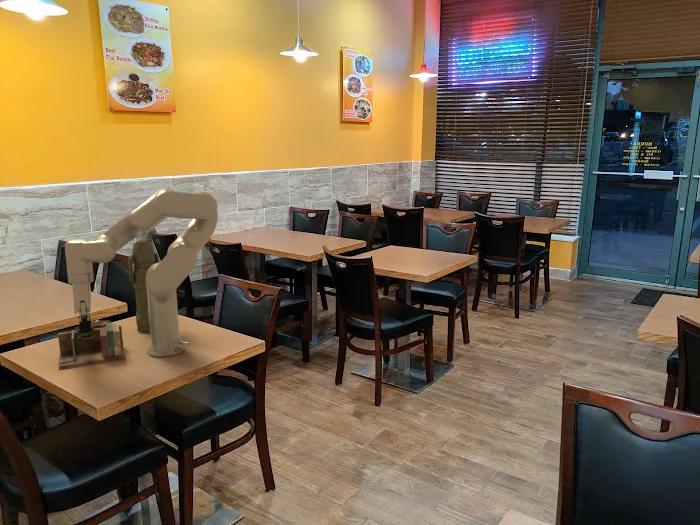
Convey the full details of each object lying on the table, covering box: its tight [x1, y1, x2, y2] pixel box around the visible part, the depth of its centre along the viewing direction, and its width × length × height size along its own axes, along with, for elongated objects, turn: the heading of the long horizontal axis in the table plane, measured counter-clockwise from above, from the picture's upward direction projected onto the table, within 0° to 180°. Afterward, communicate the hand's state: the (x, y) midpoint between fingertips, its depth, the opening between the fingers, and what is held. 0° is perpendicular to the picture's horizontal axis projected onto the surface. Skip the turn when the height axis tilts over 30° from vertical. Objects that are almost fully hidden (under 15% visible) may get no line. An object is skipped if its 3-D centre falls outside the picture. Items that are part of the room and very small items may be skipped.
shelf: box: [57, 322, 126, 370], centre depth 184 cm, size 20×13×10 cm, turn 116°
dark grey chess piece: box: [75, 310, 95, 340], centre depth 180 cm, size 6×6×12 cm
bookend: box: [58, 329, 76, 365], centre depth 181 cm, size 5×9×8 cm, turn 26°
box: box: [91, 320, 112, 329], centre depth 199 cm, size 6×6×7 cm
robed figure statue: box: [127, 240, 160, 334], centre depth 209 cm, size 9×12×35 cm
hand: (85, 328), depth 181 cm, fingers closed on dark grey chess piece, 5 cm apart
